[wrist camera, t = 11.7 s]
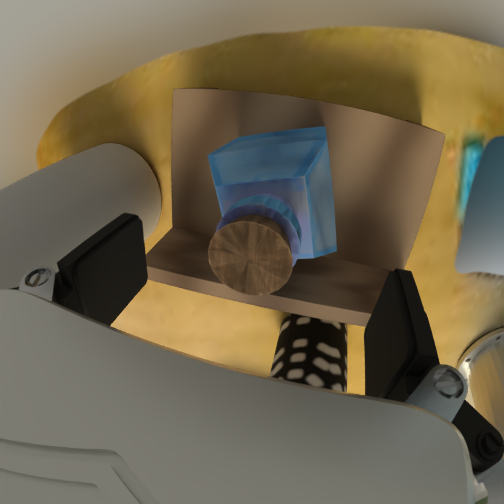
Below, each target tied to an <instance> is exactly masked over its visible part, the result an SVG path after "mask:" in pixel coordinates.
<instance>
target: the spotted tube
mask: <svg viewBox="0 0 504 504" xmlns="http://www.w3.org/2000/svg"><path fill="white" fill-rule="evenodd" d="M270 377H273V378H277V379H281V380H286V381H290V382H295V383H300V384H305V385H310V386H315V387H320V388H325V389H330V390H336V391H341V392H347V327H346V325H345V323H341V322H335V321H330V320H324V319H319V318H314V317H309V316H303V315H298V314H293V313H291V314H290V315H288V316H287V317H286V318H285V319H284V321H283V323H282V325H281V329H280V333H279V338H278V342H277V347H276V351H275V356H274V360H273V364H272V368H271V373H270Z"/></svg>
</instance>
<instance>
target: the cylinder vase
mask: <svg viewBox="0 0 504 504" xmlns="http://www.w3.org/2000/svg"><path fill="white" fill-rule="evenodd" d="M123 213H131V214H136V215H138V216H139V218H140V219H141V220H142V223H143V233H144V241H145V240H146V239H147V238H148V237H149V236H150V235H151V234H152V233H153V232H154V230H155V228H156V227H157V224H158V222H159V219H160V215H161V193H160V189H159V185H158V182H157V179H156V177H155V175H154V173H153V171H152V169H151V168H150V166H149V165H148V164H147V162H146V161H145V160H144V159H143V158H142V157H141V156H140V155H139V154H138V153H136V152H135V151H134V150H132V149H130V148H129V147H126V146H124V145H121V144H116V143H105V144H100V145H98V146H95V147H92V148H90V149H87V150H85V151H82V152H80V153H77V154H75V155H72V156H70V157H68V158H65V159H63V160H61V161H58V162H56V163H54V164H52V165H49V166H47V167H45V168H43V169H41V170H39V171H37V172H35V173H33V174H30V175H28V176H27V177H25V178H23V179H21V180H19V181H17V182H15V183H13V184H11V185H9V186H7V187H6V188H4V189H2V190H0V289H11V288H15V287H19V286H20V283H21V280H22V278H23V276H24V275H25V274H26V273H27V272H28V271H29V270H31V269H33V268H35V267H39V266H50V267H52V268H53V269H54V270H55V272H56V273H57V272H58V271H59V269H58V266H57V262H58V261H59V260H61V259H62V258H63V257H64V256H66V255H67V254H68V253H69V252H71V251H72V250H73V249H75V248H76V247H77V246H78V245H80V244H81V243H82V242H84V241H85V240H86V239H88V238H89V237H90V236H92V235H93V234H95V233H96V232H97V231H99V230H100V229H101V228H103V227H104V226H106V225H107V224H108V223H110V222H111V221H113V220H114V219H115V218H117V217H118V216H120V215H121V214H123Z"/></svg>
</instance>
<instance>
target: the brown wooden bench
mask: <svg viewBox="0 0 504 504" xmlns="http://www.w3.org/2000/svg"><path fill="white" fill-rule="evenodd" d="M322 126H325V127H326V135H327V142H328V150H329V158H330V167H331V177H332V186H333V197H334V209H335V224H336V244H337V251H336V252H332V253H329V254H326V255H323V256H319V257H316V258H308V259H297V261H296V263H295V265H294V266H293V267H292V273H291V275H290V277H289V279H288V281H287V282H286V283H285V284H284V285H283V286H282V287H281V288H280V289H279V290H277V291H274V292H272V293H270V294H266V295H259V296H254V295H246V294H242V293H240V292H237V291H234V290H232V289H231V288H229V287H228V286H226V285H225V284H223V283H222V282H221V281H220V279H219V278H218V277H217V276H216V275H215V274H214V272H213V270H212V268H211V265H210V263H209V256H208V249H209V245H210V241H211V239H212V238H213V236H214V235H215V233H216V229H217V226H218V223H219V222H220V221H221V219H222V215H221V211H220V206H219V202H218V198H217V194H216V190H215V185H214V181H213V177H212V173H211V168H210V164H209V160H208V155H209V154H210V153H212V152H214V151H215V150H217V149H219V148H220V147H222V146H224V145H226V144H227V143H229V142H231V141H232V140H234V139H236V138H238V137H242V136H249V135H255V134H262V133H269V132H276V131H284V130H292V129H301V128H311V127H322ZM444 139H445V134H443V133H441V132H438V131H436V130H433V129H431V128H428V127H426V126H423V125H420V124H417V123H414V122H411V121H408V120H406V121H404V120H401V119H397V118H394V117H390V116H386V115H383V114H379V113H375V112H371V111H367V110H363V109H358V108H354V107H349V106H345V105H340V104H335V103H330V102H324V101H319V100H313V99H307V98H300V97H294V96H286V95H279V94H270V93H261V92H250V91H238V90H222V89H218V88H179V89H174V90H173V111H172V153H171V182H172V224H173V227H172V228H171V229H170V230H169V231H168V232H167V233H166V234H165V235H164V237H163V238H162V239H161V240H160V241H159V242H158V243H157V244H156V245H155V246H154V247H153V248H152V249H151V250H150V251H149V252H148V253H147V254H146V263H147V272H148V280H152V281H156V282H159V283H163V284H167V285H171V286H175V287H179V288H183V289H187V290H191V291H195V292H199V293H203V294H207V295H211V296H216V297H220V298H224V299H228V300H233V301H237V302H242V303H246V304H251V305H255V306H260V307H264V308H269V309H274V310H279V311H284V312H288V313H293V314H298V315H303V316H309V317H314V318H319V319H324V320H330V321H335V322H341V323H346V324H352V325H358V326H364V327H366V325H367V323H368V321H369V319H370V317H371V314H372V312H373V310H374V307H375V305H376V303H377V300H378V298H379V296H380V293H381V291H382V288H383V286H384V283H385V281H386V278H387V276H388V273H389V272H390V271H393V272H394V270H395V269H396V268H398V269H403V270H404V267H405V265H406V262H407V260H408V257H409V255H410V252H411V250H412V247H413V244H414V242H415V239H416V236H417V233H418V230H419V227H420V225H421V222H422V219H423V216H424V213H425V210H426V206H427V203H428V200H429V197H430V193H431V190H432V187H433V183H434V179H435V176H436V172H437V168H438V165H439V161H440V157H441V152H442V148H443V144H444Z"/></svg>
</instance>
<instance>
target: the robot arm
mask: <svg viewBox="0 0 504 504" xmlns="http://www.w3.org/2000/svg"><path fill="white" fill-rule="evenodd" d="M57 266H58V269H59V271H58V272H57V273H56V272H55V270H54V269H53V268H52V267H50V266H39V267H35V268H33V269H31V270H29V271H28V272H27V273H26V274H25V275H24V276H23V278H22V280H21V283H20V286H19V287H15V288H11V289H0V504H504V328H500V329H497V330H495V331H492V332H490V333H488V334H487V335H485V336H483V337H482V338H480V339H479V340H477V341H476V342H475V343H474V344H473V345H472V346H471V347H470V348H469V349H468V350H467V351H466V352H465V353H464V354H463V356H462V357H461V359H460V360H459V362H458V365H457V368H456V369H455V368H454V367H452V366H449V365H442V364H440V363H439V358H438V354H437V350H436V346H435V342H434V339H433V335H432V331H431V328H430V324H429V321H428V317H427V314H426V312H425V311H424V308H423V305H422V302H421V298H420V295H419V292H418V289H417V286H416V283H415V280H414V277H413V275H412V272H411V271H407V270H403V269H398V268H396V269H395V270H394V272H393V271H390V272H389V273H388V276H387V278H386V281H385V283H384V286H383V288H382V291H381V293H380V296H379V298H378V300H377V303H376V305H375V307H374V310H373V312H372V314H371V317H370V319H369V321H368V323H367V325H366V328H365V332H364V347H365V395H359V394H353V393H347V392H341V391H336V390H330V389H325V388H320V387H315V386H310V385H305V384H300V383H295V382H290V381H286V380H281V379H277V378H273V377H268V376H264V375H260V374H256V373H252V372H248V371H245V370H241V369H237V368H233V367H230V366H226V365H222V364H219V363H215V362H212V361H209V360H205V359H202V358H199V357H195V356H192V355H189V354H186V353H183V352H180V351H177V350H174V349H171V348H168V347H165V346H162V345H159V344H156V343H153V342H150V341H148V340H145V339H142V338H139V337H137V336H134V335H131V334H129V333H126V332H123V331H121V330H118V329H116V328H113V327H111V326H110V325H111V324H112V323H113V322H114V320H115V319H116V318H117V317H118V316H119V314H120V313H121V312H122V311H123V310H124V308H125V307H126V306H127V305H128V304H129V303H130V301H131V300H132V299H133V298H134V297H135V296H136V294H137V293H138V292H139V291H140V290H141V289H142V288H143V286H144V285H145V284H146V282H147V279H148V272H147V263H146V254H145V244H144V233H143V223H142V220H141V219H140V218H139V216H138V215H136V214H131V213H123V214H121V215H120V216H118V217H117V218H115V219H114V220H113V221H111V222H110V223H108V224H107V225H106V226H104V227H103V228H101V229H100V230H99V231H97V232H96V233H95V234H93V235H92V236H90V237H89V238H88V239H86V240H85V241H84V242H82V243H81V244H80V245H78V246H77V247H76V248H75V249H73V250H72V251H71V252H69V253H68V254H67V255H66V256H64V257H63V258H62V259H61V260H59V261H58V262H57ZM468 386H470V389H471V393H472V397H473V401H474V405H475V409H474V408H473V407H472V406H471V405H470V404H469V403H468V402H467V401H466V400H465V398H466V395H467V392H468Z"/></svg>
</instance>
